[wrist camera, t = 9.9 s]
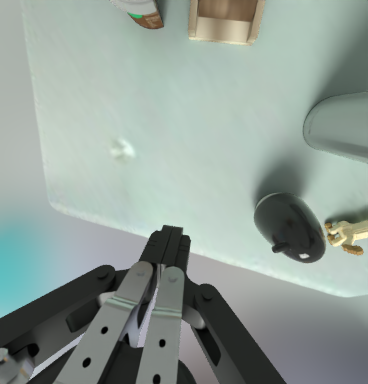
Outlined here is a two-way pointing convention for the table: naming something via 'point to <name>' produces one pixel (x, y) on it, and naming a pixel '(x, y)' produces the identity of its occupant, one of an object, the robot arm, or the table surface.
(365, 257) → the table surface
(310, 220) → the pump dispenser
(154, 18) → the food container
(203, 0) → the roller rack
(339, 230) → the cat figure
